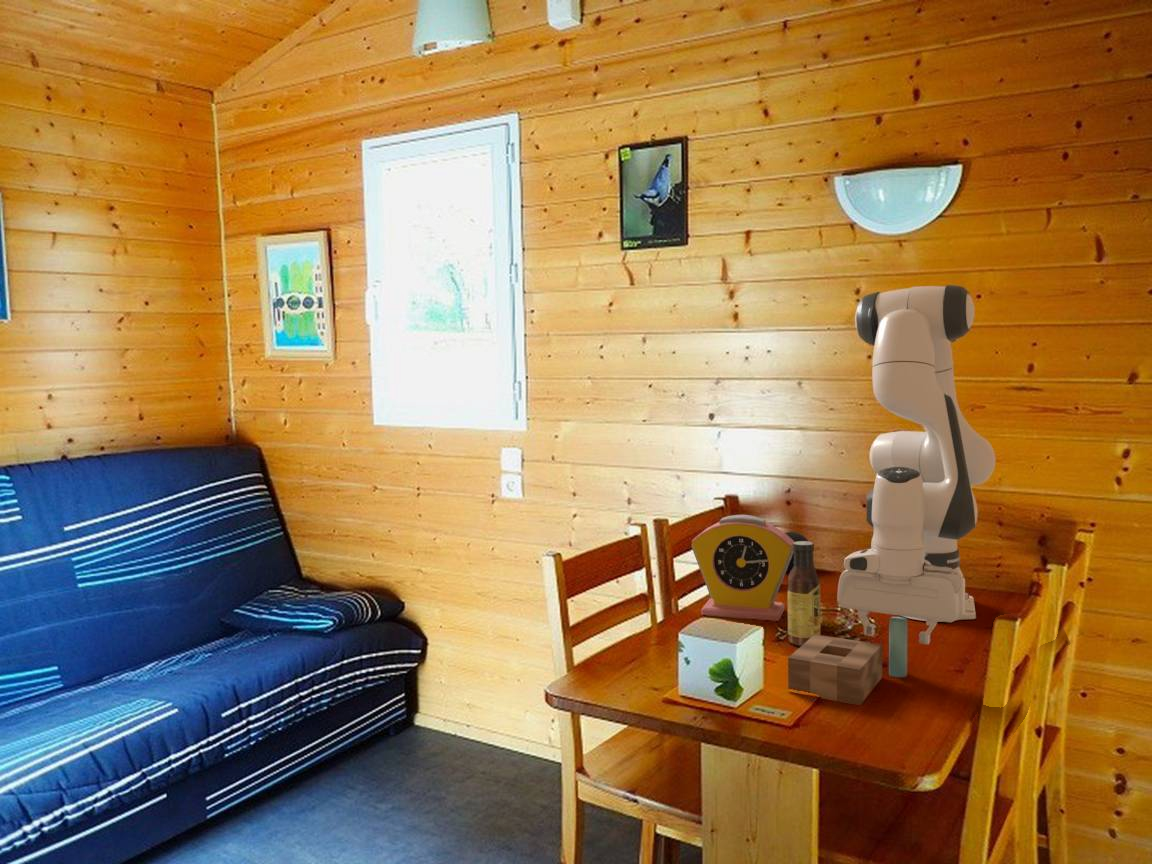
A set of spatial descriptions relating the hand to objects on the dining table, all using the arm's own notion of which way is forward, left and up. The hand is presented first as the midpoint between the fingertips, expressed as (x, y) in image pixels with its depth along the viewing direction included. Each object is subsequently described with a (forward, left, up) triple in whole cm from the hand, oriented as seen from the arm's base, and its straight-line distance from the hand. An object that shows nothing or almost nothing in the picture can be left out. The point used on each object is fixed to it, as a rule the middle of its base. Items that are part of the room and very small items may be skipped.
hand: (896, 638), depth 162 cm
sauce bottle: (-9, -20, -7) cm, 23 cm away
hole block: (+10, -8, -7) cm, 14 cm away
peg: (0, 0, -7) cm, 7 cm away
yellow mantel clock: (-22, -38, -7) cm, 44 cm away
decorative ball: (-62, -41, -7) cm, 75 cm away
